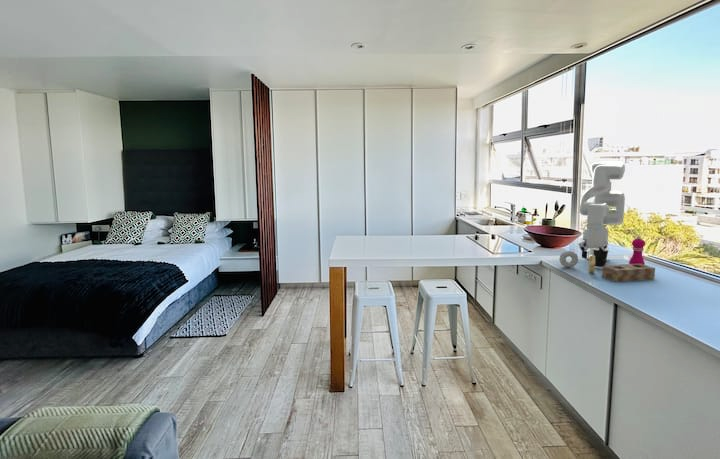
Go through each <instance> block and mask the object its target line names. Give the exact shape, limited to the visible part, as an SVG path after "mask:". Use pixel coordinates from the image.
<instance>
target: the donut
mask: <svg viewBox="0 0 720 459" xmlns="http://www.w3.org/2000/svg"><path fill="white" fill-rule="evenodd" d="M567 257H568V258H569V257H570V258H571V261H570V260H569V261H567ZM578 262H579V256H578V254H577V253H576V252H574V251H573V250H565V251H563V252H562V253H561V254H560V255H559V263H560V265H561V266H563V267H564V268H573V267H575V266H576V265H577V264H578Z"/></svg>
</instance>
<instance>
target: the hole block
mask: <svg viewBox="0 0 720 459" xmlns="http://www.w3.org/2000/svg"><path fill="white" fill-rule="evenodd" d="M655 274H656V267H653V266H650V265H646V264H645V265H644V264H640V263H637V264H629V263H624V264H622V263H621V264H607V265H605V266H603V269H602V274H601V277H602V278H604V279H608V280H610V281H612V280H613V282H615V281H616V282H615V283H618V282H619V281H622V282H635V280H636V281H645V280H646V281H647V280H655ZM619 283H620V282H619Z"/></svg>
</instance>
